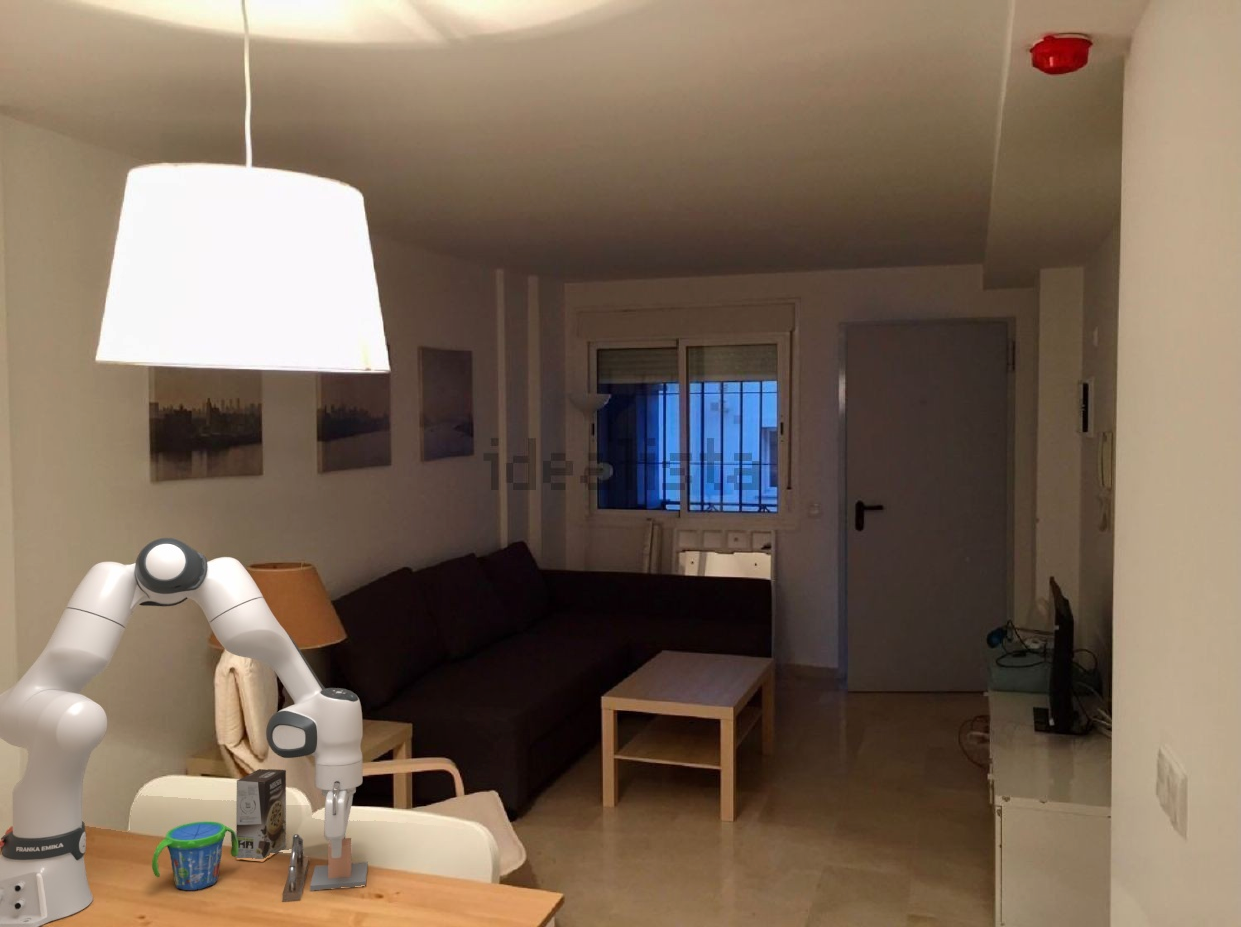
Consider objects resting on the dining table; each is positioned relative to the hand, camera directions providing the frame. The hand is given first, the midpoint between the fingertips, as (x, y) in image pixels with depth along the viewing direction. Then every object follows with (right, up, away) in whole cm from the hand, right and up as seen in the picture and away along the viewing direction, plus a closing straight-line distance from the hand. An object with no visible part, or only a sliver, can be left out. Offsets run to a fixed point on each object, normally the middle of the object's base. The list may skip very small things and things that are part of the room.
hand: (338, 848), depth 204 cm
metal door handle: (-8, -6, -1) cm, 10 cm away
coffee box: (-19, -6, +14) cm, 25 cm away
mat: (0, -6, +1) cm, 6 cm away
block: (0, -5, +1) cm, 5 cm away
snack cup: (-26, -7, -2) cm, 27 cm away
